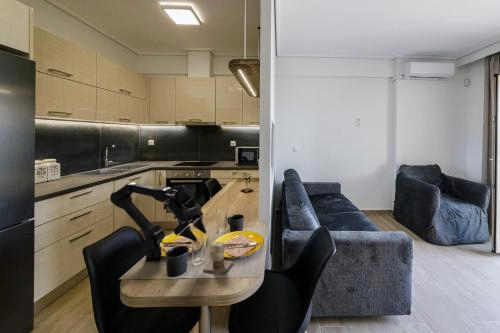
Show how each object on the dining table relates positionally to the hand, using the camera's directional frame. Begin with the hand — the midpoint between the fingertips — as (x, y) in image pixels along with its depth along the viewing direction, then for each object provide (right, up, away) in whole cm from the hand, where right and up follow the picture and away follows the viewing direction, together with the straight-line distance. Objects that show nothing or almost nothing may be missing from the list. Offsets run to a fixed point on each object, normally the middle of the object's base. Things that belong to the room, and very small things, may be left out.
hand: (201, 236), depth 121 cm
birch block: (+8, -9, -1) cm, 12 cm away
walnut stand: (+8, -13, -1) cm, 15 cm away
